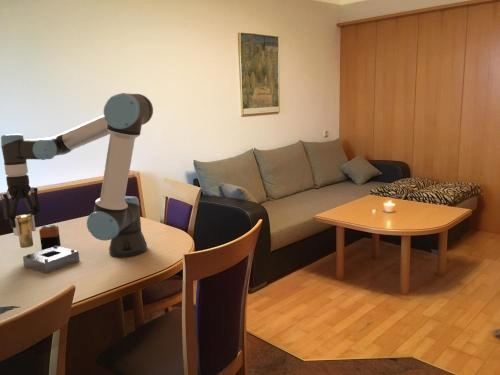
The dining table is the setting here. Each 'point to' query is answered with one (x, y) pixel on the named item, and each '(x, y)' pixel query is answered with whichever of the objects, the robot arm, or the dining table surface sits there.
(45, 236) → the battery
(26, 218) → the knob
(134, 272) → the dining table surface
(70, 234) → the dining table surface
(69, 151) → the robot arm
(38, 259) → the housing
